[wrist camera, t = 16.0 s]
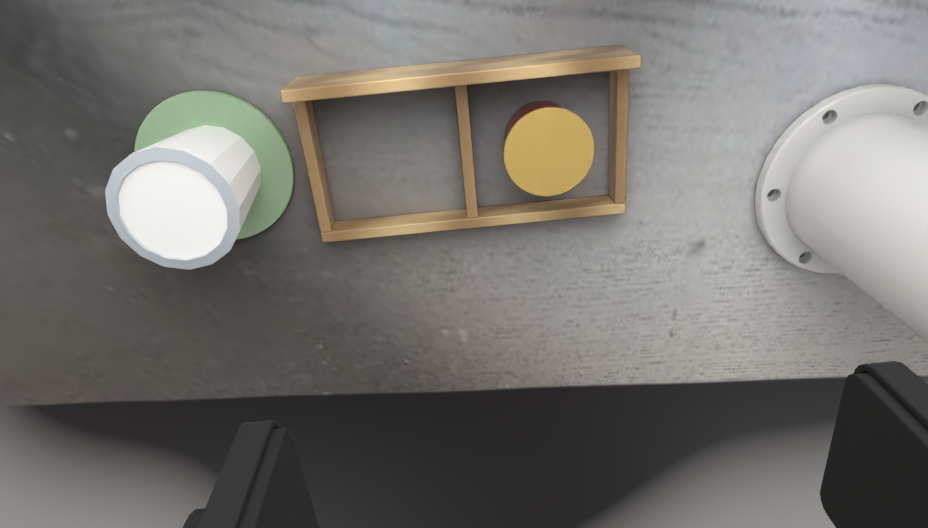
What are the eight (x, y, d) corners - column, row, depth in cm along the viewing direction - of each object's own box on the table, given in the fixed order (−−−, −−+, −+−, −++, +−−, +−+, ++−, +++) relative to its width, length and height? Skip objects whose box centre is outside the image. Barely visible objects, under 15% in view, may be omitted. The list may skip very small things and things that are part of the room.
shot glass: (293, 194, 40) (266, 239, 34) (202, 237, 41) (159, 289, 35) (230, 95, 37) (187, 124, 31) (134, 144, 38) (74, 183, 32)
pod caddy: (622, 44, 37) (641, 54, 33) (618, 203, 41) (635, 227, 38) (295, 76, 37) (279, 90, 33) (327, 231, 41) (316, 258, 38)
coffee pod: (581, 89, 38) (594, 103, 35) (581, 172, 40) (594, 191, 37) (495, 98, 38) (500, 112, 35) (501, 180, 40) (506, 200, 37)
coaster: (275, 82, 37) (274, 83, 37) (308, 230, 41) (307, 233, 41) (114, 98, 37) (111, 99, 37) (164, 244, 41) (161, 247, 41)
